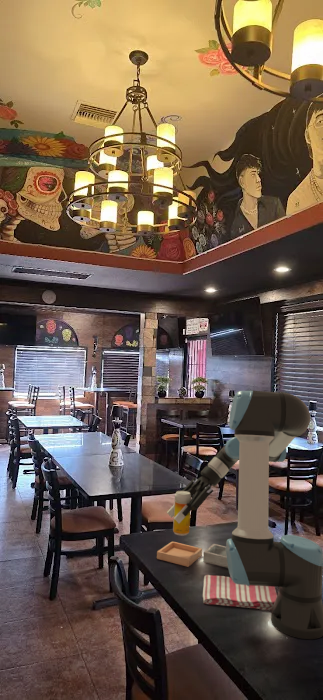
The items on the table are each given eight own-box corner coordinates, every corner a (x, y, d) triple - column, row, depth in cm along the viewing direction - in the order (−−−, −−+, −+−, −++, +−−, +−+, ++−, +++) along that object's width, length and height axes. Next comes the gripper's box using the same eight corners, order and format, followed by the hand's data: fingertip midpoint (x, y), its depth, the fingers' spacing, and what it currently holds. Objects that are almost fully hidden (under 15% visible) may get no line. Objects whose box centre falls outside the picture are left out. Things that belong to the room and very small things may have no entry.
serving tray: (188, 566, 169) (188, 559, 169) (156, 558, 175) (157, 551, 175) (201, 555, 180) (202, 548, 180) (171, 547, 186) (172, 541, 186)
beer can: (189, 536, 176) (191, 495, 176) (172, 535, 176) (175, 494, 176) (188, 530, 182) (190, 491, 182) (172, 529, 182) (174, 490, 182)
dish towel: (281, 613, 141) (282, 601, 141) (202, 605, 143) (203, 593, 143) (273, 587, 158) (274, 576, 158) (202, 580, 160) (203, 570, 160)
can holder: (229, 568, 170) (229, 558, 170) (203, 561, 174) (203, 552, 175) (238, 559, 179) (238, 549, 179) (213, 552, 183) (213, 543, 183)
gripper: (232, 485, 176) (189, 533, 170) (208, 473, 194) (169, 516, 187) (220, 471, 174) (176, 519, 168) (197, 460, 192) (157, 503, 186)
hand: (172, 517), depth 178 cm, fingers closed on beer can, 6 cm apart
